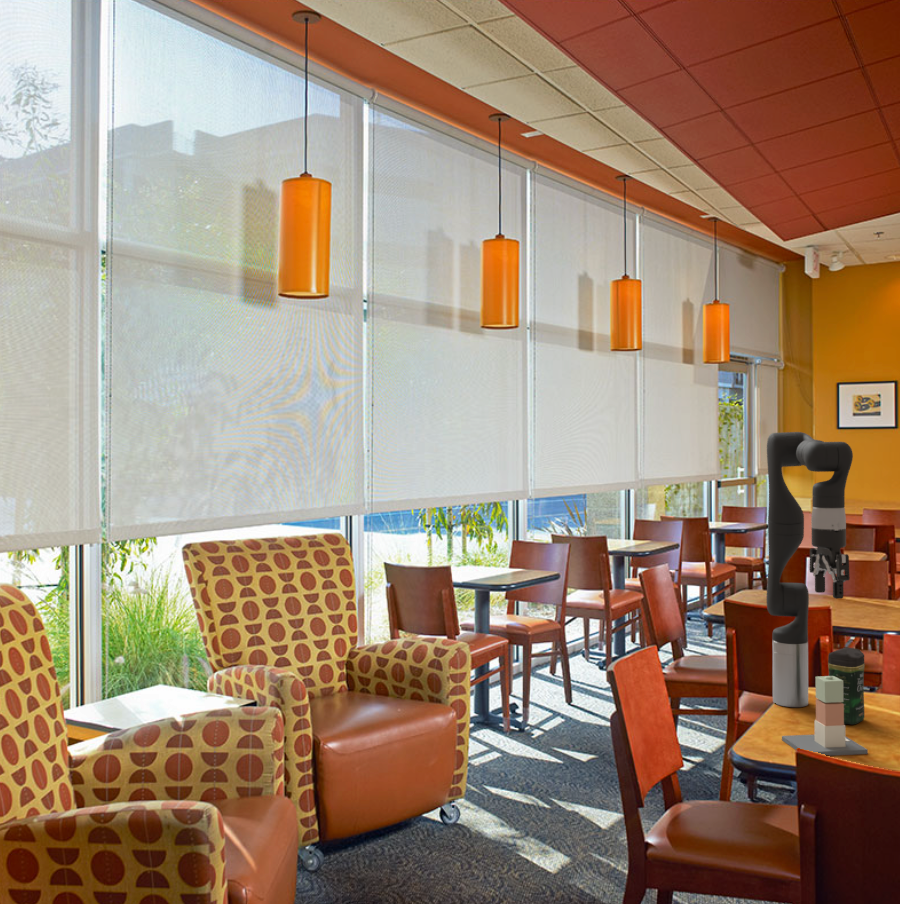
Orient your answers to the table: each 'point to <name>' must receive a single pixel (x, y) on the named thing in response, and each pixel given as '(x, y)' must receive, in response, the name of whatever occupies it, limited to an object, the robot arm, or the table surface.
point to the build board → (818, 748)
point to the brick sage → (829, 689)
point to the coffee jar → (849, 681)
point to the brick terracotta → (830, 713)
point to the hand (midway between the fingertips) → (829, 595)
